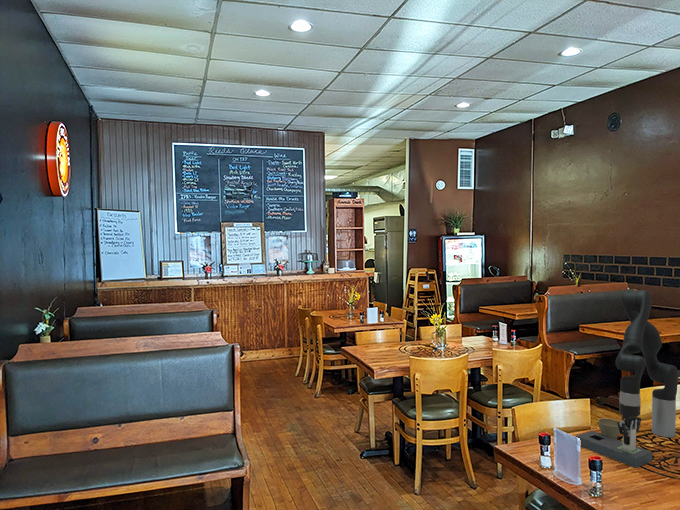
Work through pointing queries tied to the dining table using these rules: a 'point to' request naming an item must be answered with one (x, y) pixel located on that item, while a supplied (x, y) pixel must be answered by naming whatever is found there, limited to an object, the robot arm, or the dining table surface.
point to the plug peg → (632, 441)
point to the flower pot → (609, 427)
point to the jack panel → (614, 449)
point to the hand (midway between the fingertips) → (629, 443)
